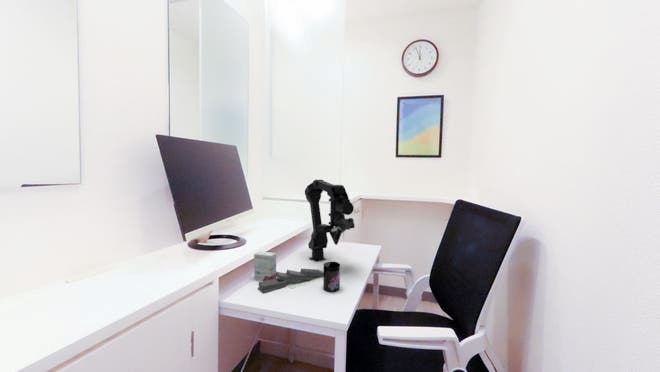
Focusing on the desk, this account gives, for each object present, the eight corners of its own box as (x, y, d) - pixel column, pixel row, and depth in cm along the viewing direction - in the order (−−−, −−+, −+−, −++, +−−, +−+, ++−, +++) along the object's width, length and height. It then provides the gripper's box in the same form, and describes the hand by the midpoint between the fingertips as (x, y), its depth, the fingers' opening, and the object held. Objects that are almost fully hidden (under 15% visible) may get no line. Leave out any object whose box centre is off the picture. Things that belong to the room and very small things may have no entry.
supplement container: (324, 293, 112) (324, 267, 111) (322, 286, 119) (322, 261, 118) (341, 292, 113) (341, 266, 112) (338, 285, 120) (338, 261, 119)
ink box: (276, 278, 126) (276, 252, 125) (271, 283, 122) (271, 256, 121) (260, 276, 129) (259, 250, 128) (253, 280, 125) (253, 253, 124)
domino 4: (305, 276, 128) (285, 273, 123) (307, 273, 128) (287, 269, 123) (310, 280, 123) (290, 277, 119) (311, 277, 124) (291, 273, 119)
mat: (280, 281, 123) (280, 281, 123) (325, 269, 138) (325, 269, 138) (291, 289, 116) (291, 288, 116) (336, 275, 131) (337, 274, 131)
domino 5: (318, 273, 132) (300, 272, 126) (318, 269, 133) (301, 268, 127) (324, 276, 128) (306, 275, 122) (325, 273, 129) (307, 271, 123)
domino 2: (280, 285, 121) (258, 291, 115) (280, 281, 121) (257, 287, 115) (286, 289, 117) (263, 296, 111) (286, 285, 117) (263, 292, 111)
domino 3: (296, 278, 126) (275, 275, 121) (297, 275, 126) (276, 271, 121) (300, 283, 121) (278, 279, 117) (301, 279, 121) (279, 275, 117)
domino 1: (281, 281, 122) (258, 285, 116) (281, 277, 121) (258, 282, 116) (286, 285, 117) (262, 290, 112) (286, 281, 117) (262, 286, 112)
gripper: (331, 216, 122) (331, 252, 123) (362, 212, 134) (362, 244, 135) (316, 212, 131) (316, 246, 132) (346, 209, 142) (346, 240, 143)
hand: (336, 244), depth 135 cm, fingers closed
